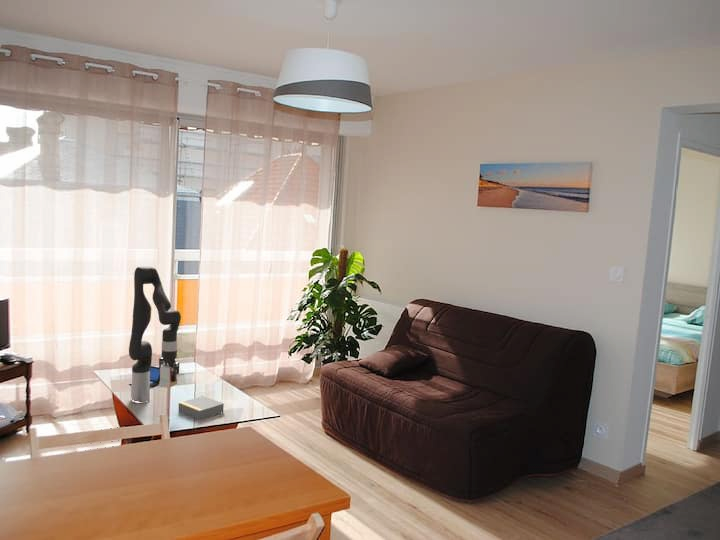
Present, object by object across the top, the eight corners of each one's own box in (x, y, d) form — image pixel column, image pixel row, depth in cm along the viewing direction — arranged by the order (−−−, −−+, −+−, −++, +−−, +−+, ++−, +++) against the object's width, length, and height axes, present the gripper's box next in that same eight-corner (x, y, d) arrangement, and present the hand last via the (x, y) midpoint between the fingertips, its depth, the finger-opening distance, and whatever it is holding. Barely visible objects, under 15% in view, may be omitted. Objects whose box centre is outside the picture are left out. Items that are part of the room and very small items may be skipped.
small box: (169, 388, 309) (169, 368, 307) (159, 387, 310) (159, 367, 309) (177, 383, 316) (177, 364, 315) (167, 382, 318) (168, 362, 316)
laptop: (128, 384, 361) (128, 369, 359) (143, 378, 373) (143, 364, 372) (149, 389, 355) (149, 373, 354) (164, 383, 367) (164, 368, 366)
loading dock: (178, 412, 321) (178, 402, 321) (202, 404, 334) (202, 395, 334) (199, 420, 311) (199, 410, 311) (223, 412, 324) (223, 402, 324)
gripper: (154, 347, 312) (154, 378, 314) (171, 353, 303) (171, 384, 306) (167, 344, 318) (166, 375, 320) (184, 350, 309) (183, 381, 312)
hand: (168, 379), depth 313 cm, fingers closed on small box, 7 cm apart
